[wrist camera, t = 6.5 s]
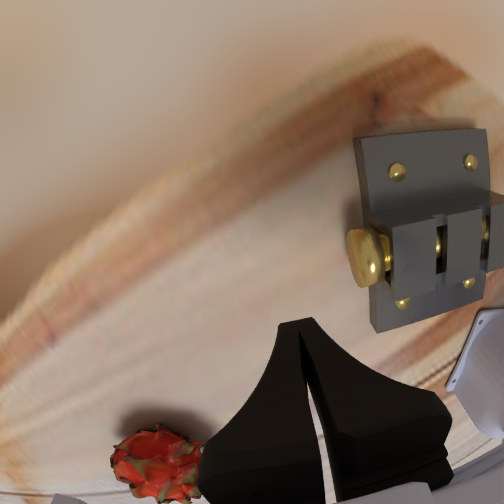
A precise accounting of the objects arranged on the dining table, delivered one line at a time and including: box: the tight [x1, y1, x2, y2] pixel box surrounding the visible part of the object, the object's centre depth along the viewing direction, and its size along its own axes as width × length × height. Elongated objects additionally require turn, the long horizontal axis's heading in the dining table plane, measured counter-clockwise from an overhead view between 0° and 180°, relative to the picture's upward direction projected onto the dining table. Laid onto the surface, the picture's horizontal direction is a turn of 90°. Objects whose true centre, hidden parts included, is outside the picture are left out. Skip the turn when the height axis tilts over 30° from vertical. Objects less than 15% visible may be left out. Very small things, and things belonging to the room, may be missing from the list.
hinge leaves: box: [353, 128, 504, 334], centre depth 17 cm, size 13×10×4 cm
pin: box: [347, 216, 486, 288], centre depth 17 cm, size 3×11×3 cm, turn 102°
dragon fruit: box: [110, 423, 206, 504], centre depth 23 cm, size 8×8×12 cm
